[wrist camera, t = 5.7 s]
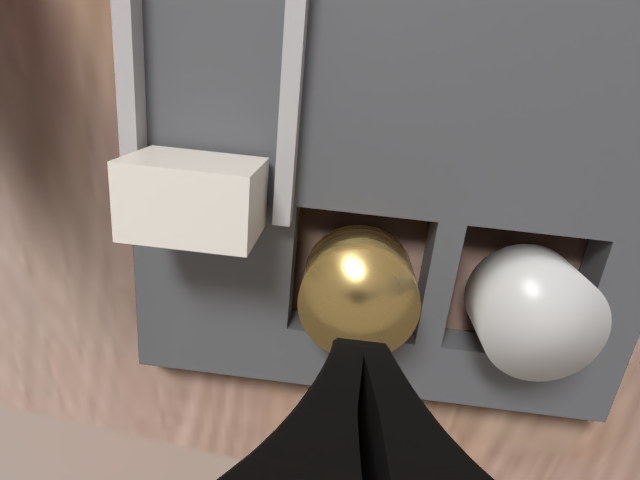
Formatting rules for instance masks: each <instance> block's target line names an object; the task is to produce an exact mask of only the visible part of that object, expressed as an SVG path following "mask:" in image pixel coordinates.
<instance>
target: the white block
mask: <svg viewBox="0 0 640 480" xmlns="http://www.w3.org/2000/svg"><path fill="white" fill-rule="evenodd" d="M107 164H108V179H109V193H110V207H111V222H112V236H113V242H115V243H124V244H133V245H141V246H150V247H159V248H167V249H176V250H185V251H193V252H202V253H210V254H219V255H228V256H236V257H245V258H247V256H248V255H249V253H250V251H251V249H252V248H253V246H254V244H255V243H256V241H257V239H258V238H259V236H260V234H261V232H262V231H263V229H264V227H265V226H266V210H267V192H268V173H269V158H268V157H258V156H249V155H240V154H230V153H221V152H212V151H202V150H193V149H184V148H174V147H165V146H156V145H151V146H148V147H146V148H143V149H140V150H138V151H135V152H132V153H129V154H127V155H124V156H121V157H118V158H116V159H113V160H110V161H108V162H107Z"/></svg>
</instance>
